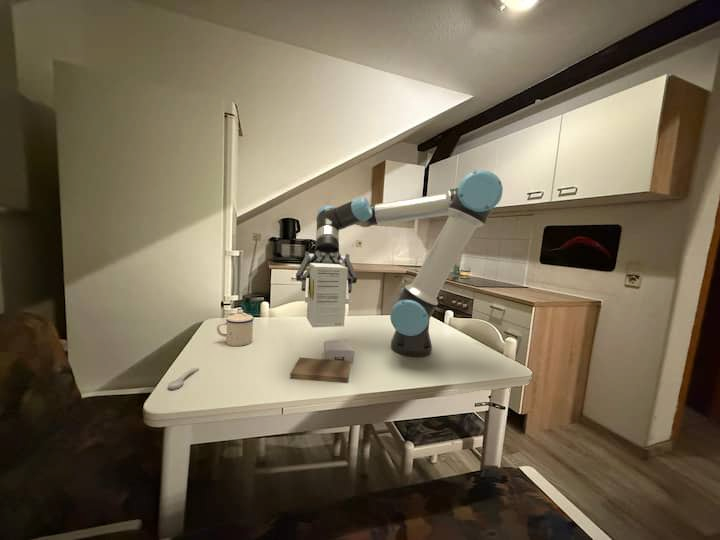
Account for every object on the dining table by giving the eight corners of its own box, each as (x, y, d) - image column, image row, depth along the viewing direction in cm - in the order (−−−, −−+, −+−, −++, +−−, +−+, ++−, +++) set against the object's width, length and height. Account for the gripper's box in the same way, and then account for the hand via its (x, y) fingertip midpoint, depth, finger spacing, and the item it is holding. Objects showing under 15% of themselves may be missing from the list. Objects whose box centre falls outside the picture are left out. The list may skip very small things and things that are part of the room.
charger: (347, 347, 107) (353, 364, 93) (322, 346, 106) (324, 364, 91) (348, 334, 107) (354, 350, 92) (323, 334, 105) (325, 350, 91)
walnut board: (349, 365, 91) (350, 361, 91) (347, 382, 80) (348, 377, 80) (299, 362, 91) (299, 357, 91) (290, 378, 80) (290, 373, 80)
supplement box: (305, 318, 87) (308, 262, 85) (335, 317, 90) (338, 263, 89) (312, 328, 78) (315, 266, 76) (344, 326, 81) (348, 267, 80)
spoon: (164, 391, 70) (165, 383, 70) (191, 372, 82) (191, 365, 82) (177, 391, 70) (177, 383, 70) (201, 373, 82) (202, 366, 82)
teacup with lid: (253, 337, 110) (254, 307, 109) (252, 346, 102) (253, 313, 101) (218, 338, 106) (219, 307, 105) (214, 347, 98) (215, 314, 97)
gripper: (360, 253, 99) (365, 308, 85) (291, 248, 95) (284, 306, 82) (364, 237, 93) (369, 294, 80) (290, 232, 90) (283, 291, 76)
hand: (326, 300), depth 81 cm, fingers closed on supplement box, 10 cm apart
